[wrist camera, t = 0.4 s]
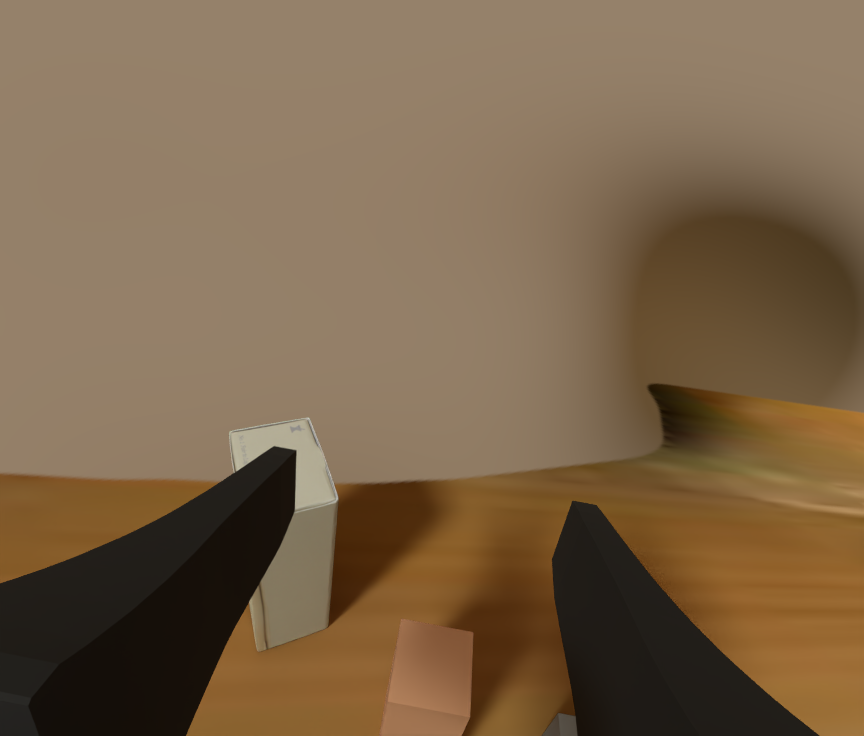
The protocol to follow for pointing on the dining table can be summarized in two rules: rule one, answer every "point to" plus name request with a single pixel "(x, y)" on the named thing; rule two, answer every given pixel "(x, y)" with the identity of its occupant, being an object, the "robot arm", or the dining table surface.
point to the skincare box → (294, 537)
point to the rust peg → (429, 682)
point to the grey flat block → (562, 726)
